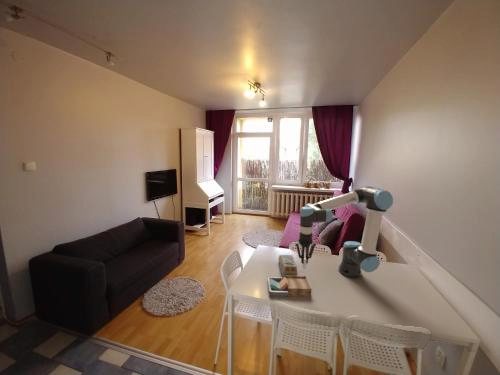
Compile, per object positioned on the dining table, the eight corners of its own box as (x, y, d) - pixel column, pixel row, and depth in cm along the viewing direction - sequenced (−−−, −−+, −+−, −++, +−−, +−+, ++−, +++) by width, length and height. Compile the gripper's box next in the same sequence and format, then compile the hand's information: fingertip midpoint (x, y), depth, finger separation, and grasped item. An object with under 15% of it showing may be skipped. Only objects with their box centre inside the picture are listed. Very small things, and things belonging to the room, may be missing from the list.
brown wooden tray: (305, 282, 150) (305, 276, 149) (310, 296, 136) (311, 288, 135) (284, 282, 150) (284, 275, 149) (287, 295, 136) (288, 288, 135)
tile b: (270, 278, 145) (269, 280, 145) (271, 283, 139) (269, 286, 139) (278, 282, 145) (276, 285, 145) (279, 288, 139) (278, 290, 139)
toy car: (291, 262, 177) (292, 250, 175) (297, 280, 152) (298, 266, 151) (277, 261, 177) (278, 250, 175) (282, 279, 153) (282, 266, 151)
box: (284, 281, 151) (284, 277, 150) (288, 296, 135) (288, 292, 134) (267, 280, 151) (267, 276, 150) (269, 296, 135) (269, 291, 134)
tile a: (287, 278, 145) (284, 277, 144) (288, 284, 139) (286, 282, 139) (280, 285, 145) (278, 283, 145) (282, 291, 140) (279, 289, 139)
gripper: (314, 230, 140) (313, 265, 144) (294, 230, 140) (292, 264, 144) (318, 234, 133) (316, 271, 137) (296, 234, 133) (294, 271, 137)
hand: (304, 268), depth 140 cm, fingers closed
